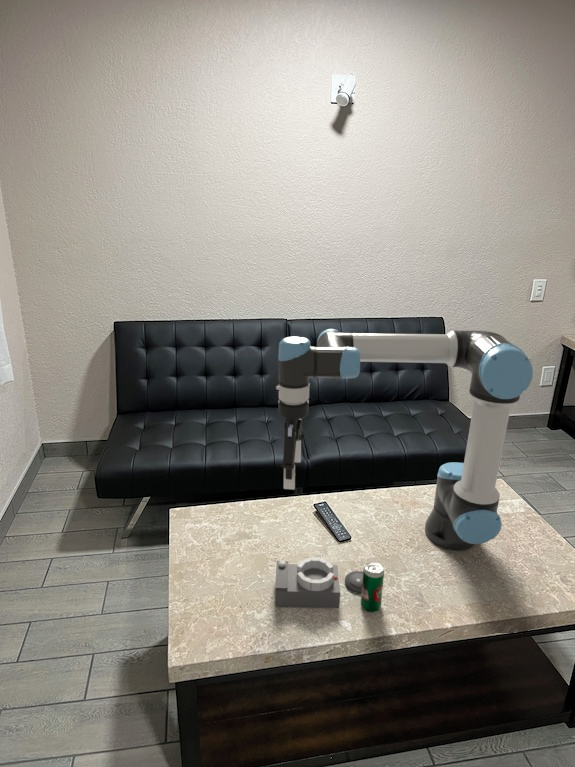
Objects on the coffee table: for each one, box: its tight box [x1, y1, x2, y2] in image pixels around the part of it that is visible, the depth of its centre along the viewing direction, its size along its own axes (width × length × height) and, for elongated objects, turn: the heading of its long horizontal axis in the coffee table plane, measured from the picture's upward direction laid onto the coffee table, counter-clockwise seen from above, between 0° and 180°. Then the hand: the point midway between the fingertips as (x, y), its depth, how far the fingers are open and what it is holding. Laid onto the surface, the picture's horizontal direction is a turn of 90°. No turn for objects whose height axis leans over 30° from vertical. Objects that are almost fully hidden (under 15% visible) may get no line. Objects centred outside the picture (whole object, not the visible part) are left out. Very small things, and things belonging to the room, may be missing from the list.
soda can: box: [360, 561, 385, 613], centre depth 133 cm, size 5×5×12 cm
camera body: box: [274, 557, 341, 609], centre depth 137 cm, size 16×10×8 cm, turn 89°
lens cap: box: [344, 570, 363, 595], centre depth 142 cm, size 8×8×1 cm
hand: (292, 474), depth 140 cm, fingers open, 13 cm apart
